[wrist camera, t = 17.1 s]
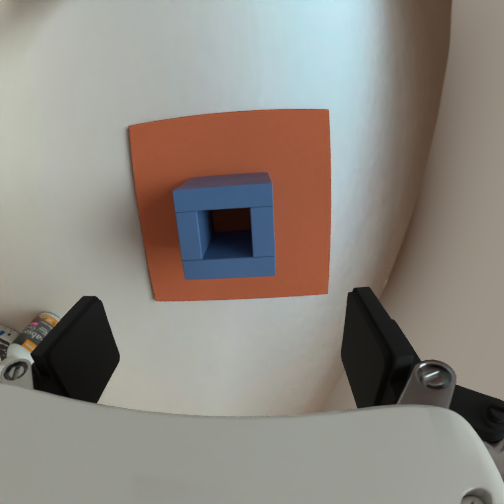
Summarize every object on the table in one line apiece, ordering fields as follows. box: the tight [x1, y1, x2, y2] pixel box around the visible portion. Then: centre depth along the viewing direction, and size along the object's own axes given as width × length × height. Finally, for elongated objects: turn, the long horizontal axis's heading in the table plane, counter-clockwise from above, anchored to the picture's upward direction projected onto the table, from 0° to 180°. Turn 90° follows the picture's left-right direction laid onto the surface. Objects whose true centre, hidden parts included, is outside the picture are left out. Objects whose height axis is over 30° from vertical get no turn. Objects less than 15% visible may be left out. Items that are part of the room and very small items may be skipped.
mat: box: [129, 109, 331, 301], centre depth 24 cm, size 16×16×1 cm
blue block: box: [173, 172, 276, 280], centre depth 21 cm, size 6×6×6 cm
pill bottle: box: [0, 312, 61, 374], centre depth 25 cm, size 6×6×10 cm
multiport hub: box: [0, 324, 19, 361], centre depth 31 cm, size 4×11×2 cm, turn 170°
